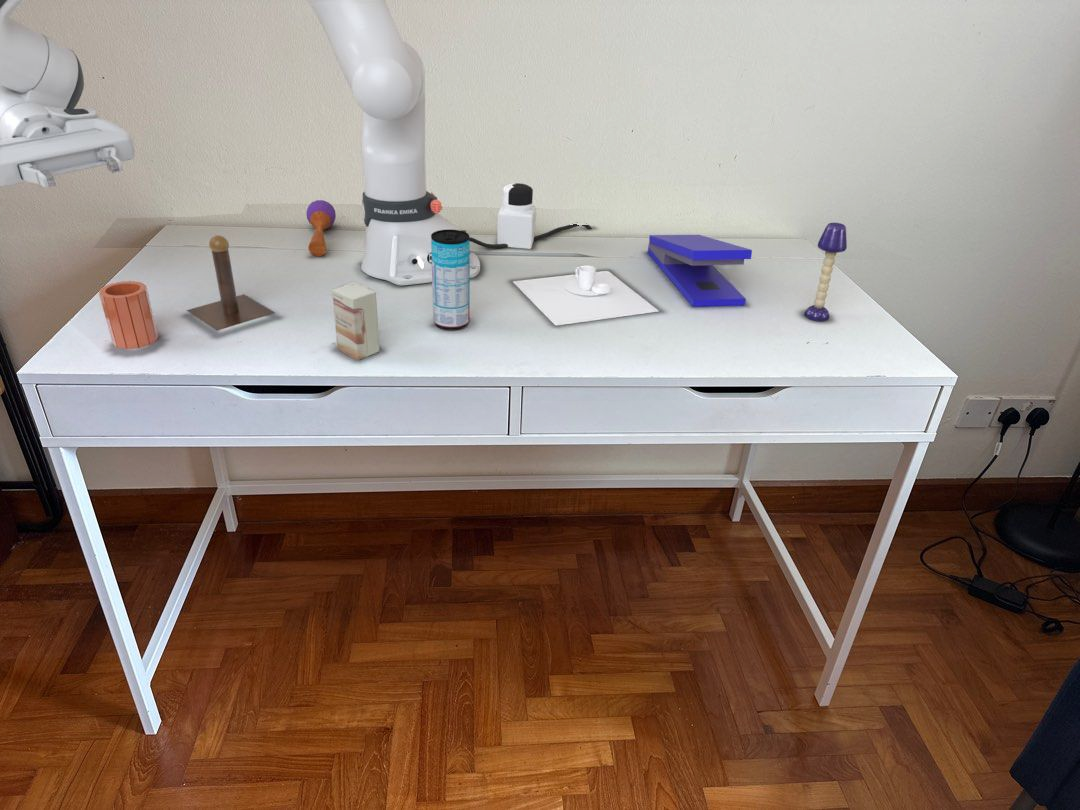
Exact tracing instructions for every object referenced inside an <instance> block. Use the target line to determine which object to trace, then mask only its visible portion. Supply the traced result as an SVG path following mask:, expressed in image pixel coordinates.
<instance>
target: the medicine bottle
mask: <svg viewBox="0 0 1080 810" xmlns="http://www.w3.org/2000/svg"><path fill="white" fill-rule="evenodd" d="M533 193H534V189H533V188H532V186H530V185H528V184H525V183H519V182H514V183H509V184H506V185H505V186H503V188H502V205H501V207H500V209H499V211H498V213H497V236H496V237H497V239H496V240H497V241H496V242H497V243H496V244H507V245H508V247H507V248H512V249H523V250H531V249H532V247H533V244H534V241H533V240H534V237H535V236H536V220H537V219H536V218H537V217H536V216H537V206H535V205H533V196H534V194H533Z"/></svg>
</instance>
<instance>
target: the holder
mask: <svg viewBox="0 0 1080 810" xmlns="http://www.w3.org/2000/svg"><path fill="white" fill-rule="evenodd" d="M208 247H209V249H210V250H211V255H212V260H213V265H214V266H213V267H214V271H215V276H216V282H217V286H218V293H219V298H220V300H219V301H218V300H217V301H213V302H211V303H207V304H204V305H200V306H197V307H196V306H195V307H193V308H190V309H189V308H188V309H186V311H187V312H188V313H190V314H191V315H192V316H194V317H196V318H197V319H199V320H200V321H201V322H203V323H204V324H206V325H208V326H209V327H210V328H212V329H214V330H215V331H220V330H221V331H222V330H224V329H228V328H230V327H234V326H238V325H240V324H243V323H247V322H250V321H254V320H257V319H260V318H263V317H266V316H271V315H273V314H276V312H275V311H273V310H272V309H270V308H268V307H267V306H265V305H263V304H261V303H260V302H258V301H256V300H255V299H253V298H251V297H250V296H248V295H246V294H245V293H243V294H239V295H237V292H236V287H235V281H234V275H233V269H232V263H231V258H230V252H229V251H230V250H229V248H230V243H229V240H228V239H227V238H226V237H225V236H223V235H220V234H219V235H218V234H217V235H213V236H212V237H211V238H210V240H209V242H208Z"/></svg>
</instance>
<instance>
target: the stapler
mask: <svg viewBox="0 0 1080 810" xmlns="http://www.w3.org/2000/svg"><path fill="white" fill-rule="evenodd" d="M752 253H753V249H751V248H747V247H743V246H739V245H737V244H734V243H730V242H727V241H722V240H719V239H716V238H712V237H708V236H706V235H701V234H649V240H648V247H647V254H648V256H649V257H650V258H651V259H652V261H653V262H654V263H655V264H656V265H657V266H658V267H659V269H660V270H661V271H662V272H663V273H664V275H665V276H666V277H667V279H669V281H670V282H671V283H672V284H673V285H674V286H675V288H676V289H677V290H678V291H679V292H680V294H681V295H682V296H683V297H684V298H685V300H686V301H687V302H688V303H689V304H690V306H691V307H693V308H701V307H703V308H704V307H732V306H733V307H734V306H735V307H736V306H745V304H746V300H747V298H746V297H745V296H744V295H743V294H742V293H741V292H740V291H739V290H738V289H737V288H736V287H735V286H734V285H733V284H732V283H731V282H730V281H728V279H727V278H725V276H724V275H723V274H722V273H721V272H720V271H719V270H718V269H717V268H715V266H740V265H741V266H743V265H745V260H752V256H753V255H752Z"/></svg>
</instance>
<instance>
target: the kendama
mask: <svg viewBox="0 0 1080 810" xmlns="http://www.w3.org/2000/svg"><path fill="white" fill-rule="evenodd" d="M305 214H306V219H307V221H308V223H309V224H310V225H311V226H312V227H313V228H314V233H313V235H312V237H311V240H310V242H309V244H308V247H307V248H308V252H309V253H310V255H312V256H314V257H321V256H324V255H325V254H326V253H327V252H326V251H327V246H326V240H325V239H326V238H325V234H324V231H325V230H327V229H329V228H331V227H332V226H333V225H334V224H335V222H336V216H337V214H336V210H335V208H334V206H333V205H332V204H331V203H330V202H329V201H326V200H324V199H318V200H314V201H311V203H310V204H308V206H307V209H306V212H305Z"/></svg>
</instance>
